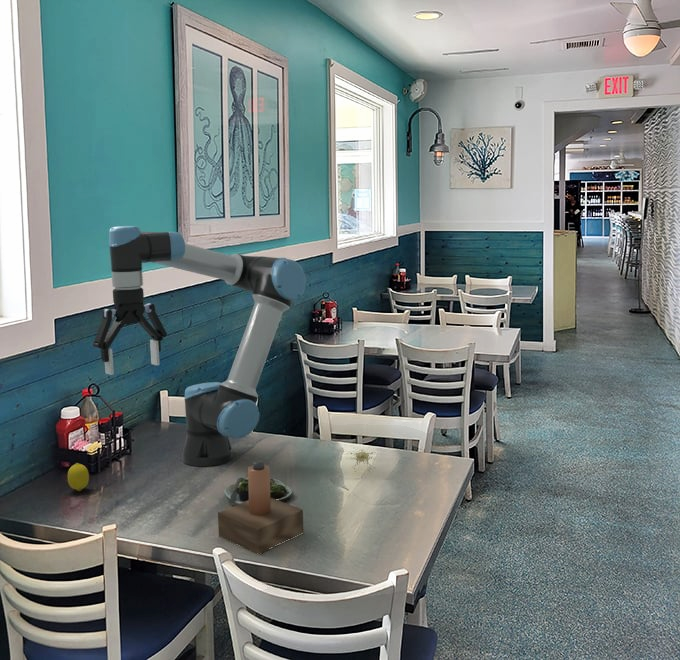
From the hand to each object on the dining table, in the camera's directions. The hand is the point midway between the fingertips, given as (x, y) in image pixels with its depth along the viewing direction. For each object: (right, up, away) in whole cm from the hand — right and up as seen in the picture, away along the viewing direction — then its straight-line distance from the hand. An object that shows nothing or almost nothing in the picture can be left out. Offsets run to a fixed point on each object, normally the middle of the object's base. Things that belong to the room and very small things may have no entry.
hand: (133, 369), depth 196 cm
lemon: (-17, -34, +10) cm, 39 cm away
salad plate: (+32, -35, +5) cm, 47 cm away
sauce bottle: (+35, -32, -19) cm, 51 cm away
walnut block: (+35, -38, -18) cm, 55 cm away
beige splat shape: (+60, -31, +22) cm, 71 cm away
